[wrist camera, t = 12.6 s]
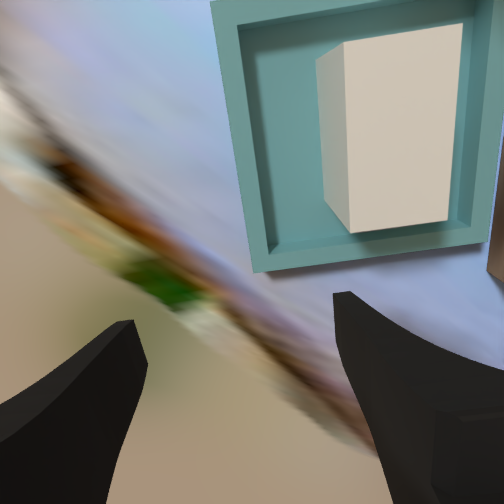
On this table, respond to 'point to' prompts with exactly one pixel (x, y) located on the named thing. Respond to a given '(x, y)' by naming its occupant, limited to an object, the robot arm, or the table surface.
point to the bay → (498, 229)
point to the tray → (308, 129)
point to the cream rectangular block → (389, 127)
